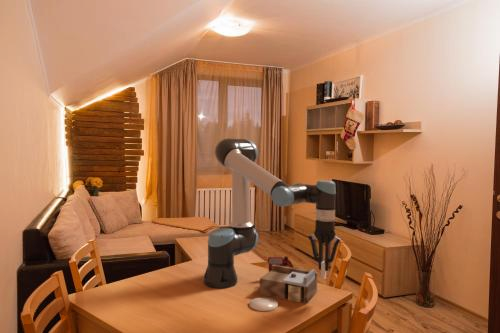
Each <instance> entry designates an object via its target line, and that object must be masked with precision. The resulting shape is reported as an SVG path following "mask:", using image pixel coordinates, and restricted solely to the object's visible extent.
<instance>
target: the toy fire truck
mask: <svg viewBox="0 0 500 333" xmlns="http://www.w3.org/2000/svg"><path fill="white" fill-rule="evenodd" d="M267 262H268V272H269V271H271V270H272V265H279V266H285V267H291V268H295V267H294V266H293V263H292V261H291V260H290V259H289V257H288V256H286V255H285V256H268V257H267Z"/></svg>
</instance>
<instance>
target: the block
mask: <svg viewBox="0 0 500 333" xmlns="http://www.w3.org/2000/svg"><path fill="white" fill-rule="evenodd" d="M303 300H304V287H303V286H298V285H293V284H289V285H288V296H287V301H292V302H295V303H301V302H302V301H303Z"/></svg>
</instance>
